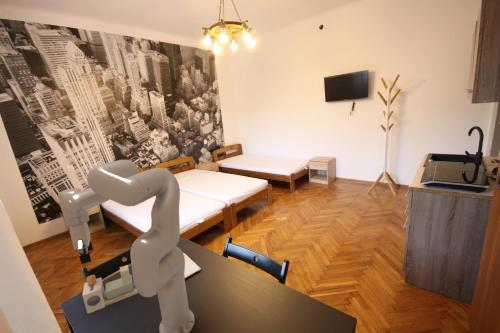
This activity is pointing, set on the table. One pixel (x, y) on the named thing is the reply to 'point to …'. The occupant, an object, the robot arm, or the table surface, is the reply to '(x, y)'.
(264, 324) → the table surface
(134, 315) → the table surface
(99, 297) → the cabinet
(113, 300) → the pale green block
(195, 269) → the plate
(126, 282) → the carriage
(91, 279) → the knob
